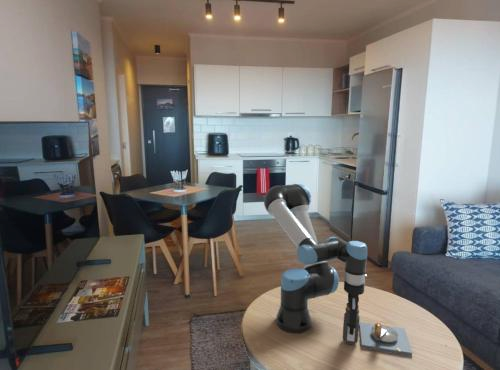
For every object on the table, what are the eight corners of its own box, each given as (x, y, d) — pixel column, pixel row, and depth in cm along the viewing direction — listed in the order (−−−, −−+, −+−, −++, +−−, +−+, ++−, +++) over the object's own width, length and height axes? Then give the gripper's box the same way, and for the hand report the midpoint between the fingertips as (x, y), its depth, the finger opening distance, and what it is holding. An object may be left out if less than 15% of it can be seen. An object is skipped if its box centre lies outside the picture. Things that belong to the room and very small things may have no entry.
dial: (372, 343, 129) (373, 325, 128) (370, 326, 141) (371, 309, 139) (400, 348, 127) (401, 330, 126) (395, 330, 138) (396, 313, 137)
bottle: (360, 342, 131) (363, 308, 128) (347, 345, 129) (350, 310, 126) (352, 333, 136) (354, 300, 134) (339, 336, 135) (342, 302, 132)
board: (361, 348, 129) (361, 345, 129) (359, 324, 145) (359, 321, 145) (412, 357, 125) (412, 353, 124) (404, 331, 140) (404, 327, 140)
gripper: (366, 294, 118) (361, 352, 123) (363, 272, 136) (359, 323, 140) (344, 291, 120) (340, 348, 124) (344, 269, 138) (340, 320, 142)
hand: (350, 335), depth 132 cm, fingers closed on bottle, 6 cm apart
